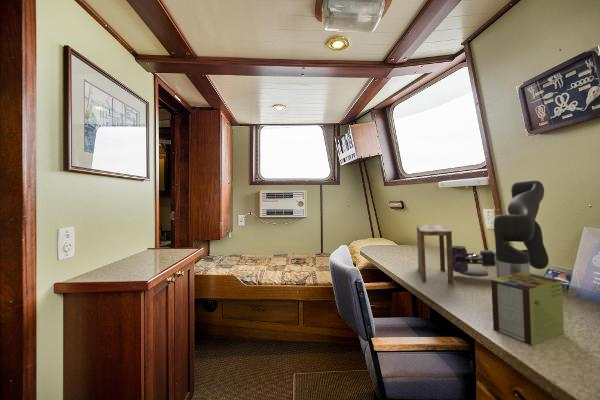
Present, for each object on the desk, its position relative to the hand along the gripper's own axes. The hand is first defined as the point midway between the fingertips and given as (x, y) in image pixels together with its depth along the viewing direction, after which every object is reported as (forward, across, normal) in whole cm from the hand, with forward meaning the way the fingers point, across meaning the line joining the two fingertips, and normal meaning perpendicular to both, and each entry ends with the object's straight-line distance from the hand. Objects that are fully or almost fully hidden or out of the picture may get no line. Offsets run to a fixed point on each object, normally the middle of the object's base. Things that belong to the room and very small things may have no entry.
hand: (454, 257), depth 136 cm
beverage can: (-2, 0, +7) cm, 7 cm away
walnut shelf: (+9, 0, +9) cm, 13 cm away
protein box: (-9, +56, +10) cm, 57 cm away
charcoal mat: (-10, -8, +9) cm, 16 cm away
